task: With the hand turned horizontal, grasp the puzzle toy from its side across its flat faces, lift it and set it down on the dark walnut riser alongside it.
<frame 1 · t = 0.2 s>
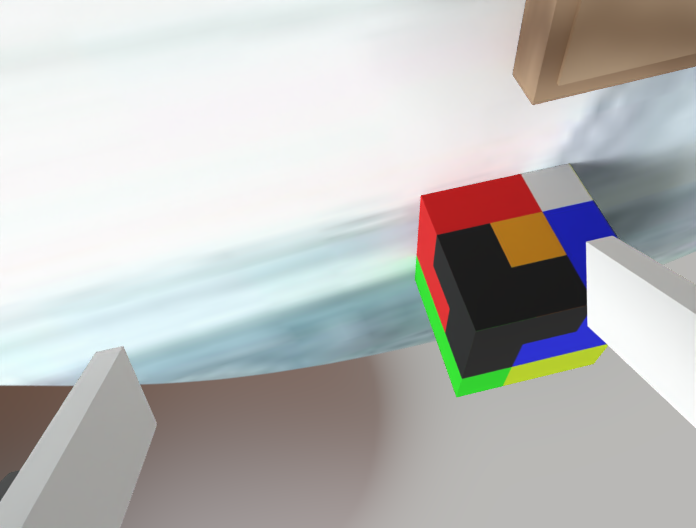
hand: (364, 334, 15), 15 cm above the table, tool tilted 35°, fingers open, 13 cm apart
puzzle toy: (483, 224, 38), on the table
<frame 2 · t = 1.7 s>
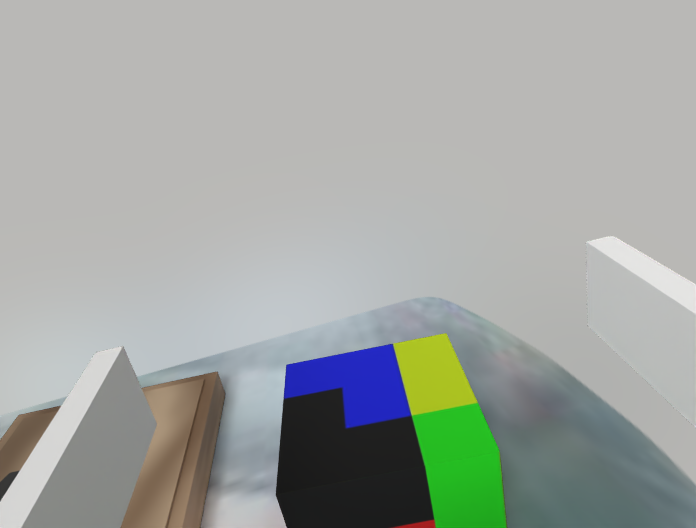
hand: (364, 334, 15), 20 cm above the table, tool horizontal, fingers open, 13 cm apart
walnut riser: (94, 493, 39), on the table
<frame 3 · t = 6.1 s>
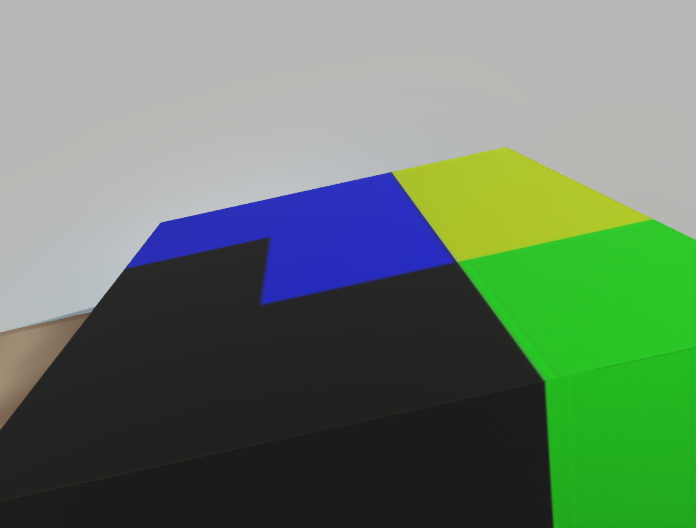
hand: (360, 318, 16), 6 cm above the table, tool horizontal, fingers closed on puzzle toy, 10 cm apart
when the fingers open (10 cm above the table, at t = 11.4 s): puzzle toy drops 1 cm, resting on walnut riser.
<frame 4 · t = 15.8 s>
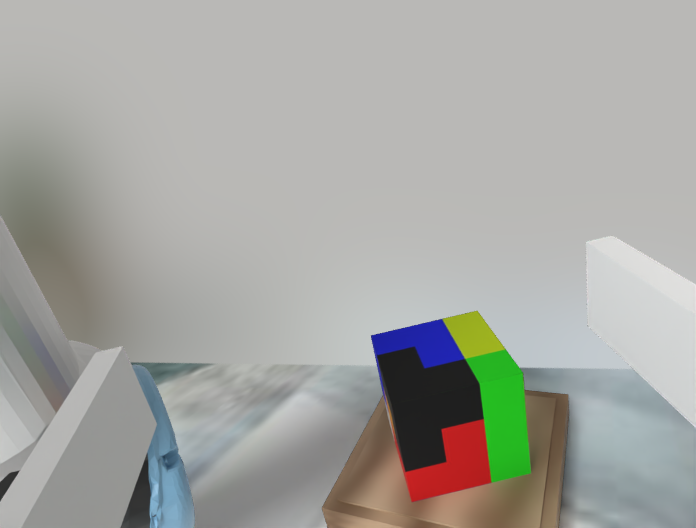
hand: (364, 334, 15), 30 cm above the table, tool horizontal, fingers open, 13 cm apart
walnut riser: (456, 468, 48), on the table
puzzle toy: (453, 446, 47), point 2 cm above the table, touching walnut riser
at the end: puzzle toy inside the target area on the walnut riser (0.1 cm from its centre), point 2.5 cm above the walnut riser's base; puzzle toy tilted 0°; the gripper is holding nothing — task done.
